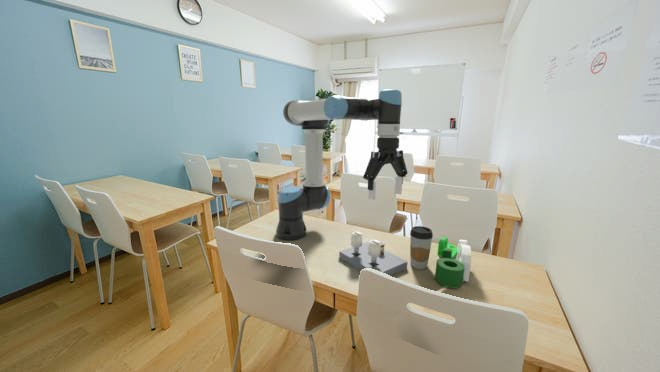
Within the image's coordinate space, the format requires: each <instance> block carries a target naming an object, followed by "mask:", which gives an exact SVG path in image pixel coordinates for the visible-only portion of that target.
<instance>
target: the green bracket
mask: <svg viewBox="0 0 660 372" xmlns="http://www.w3.org/2000/svg"><path fill="white" fill-rule="evenodd" d="M458 257H459V255H458ZM435 266H436V267H435V273H434V280H435V281H436V282H437V283H438V284H440V285H441V286H443V287H446V288H450V289H451V288H452V289H458V288H460V287H462V286H463V283H464V281H463V279H464V277H463V276H464V269H465V266H464V265H463V264H462V263H461V262H459V261H457V260H456V259H455V258H453V259H452V249H449V248H445V249H444V250H443V252H442V256H441V257H440V258H438V259H437V260H436V265H435Z"/></svg>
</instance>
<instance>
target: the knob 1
mask: <svg viewBox="0 0 660 372" xmlns="http://www.w3.org/2000/svg"><path fill="white" fill-rule="evenodd" d="M350 235H351V236H350V247H354V252H355V253H358V252H359V247H361V246H362V244H363V233H362V232H360V231H353V232H351V233H350Z"/></svg>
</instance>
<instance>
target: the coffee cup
mask: <svg viewBox="0 0 660 372" xmlns="http://www.w3.org/2000/svg"><path fill="white" fill-rule="evenodd" d="M433 237H434V235H433V230H432V229H431V228H429V227H427V226H426V227H425V226H422V225H420V226H412V228H411V229H410V244H409V246H410V248H409V252H410V253H409V255H410V265H411V266H412V268H415V269H418V270H425V269H426V268H427V267H428V264H429V259H430V253H431V248H432V239H433Z"/></svg>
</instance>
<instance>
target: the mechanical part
mask: <svg viewBox="0 0 660 372" xmlns="http://www.w3.org/2000/svg"><path fill="white" fill-rule="evenodd" d="M437 247H438V248H437V256H440V257H442V252H443V250H444V249H445V248H449V249H452V259H455V257H457V245H455V244H451V243H449V238H447V237H443V236H441V237H440V238H439V241H438V246H437ZM451 247H453V248H451Z"/></svg>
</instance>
